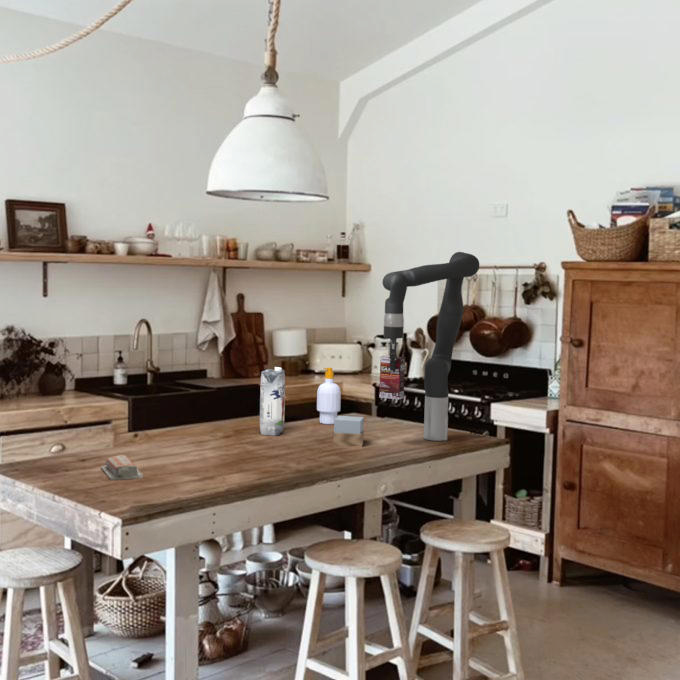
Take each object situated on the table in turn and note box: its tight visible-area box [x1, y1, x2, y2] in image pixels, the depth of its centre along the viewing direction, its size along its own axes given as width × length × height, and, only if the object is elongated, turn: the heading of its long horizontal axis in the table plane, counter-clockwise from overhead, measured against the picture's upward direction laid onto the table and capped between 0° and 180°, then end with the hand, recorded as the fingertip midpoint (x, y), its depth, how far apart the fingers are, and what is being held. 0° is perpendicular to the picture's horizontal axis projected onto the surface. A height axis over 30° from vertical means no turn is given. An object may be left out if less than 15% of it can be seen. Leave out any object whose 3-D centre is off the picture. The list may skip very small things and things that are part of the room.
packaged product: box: [100, 454, 144, 481], centre depth 279 cm, size 18×5×10 cm
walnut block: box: [332, 430, 365, 447], centre depth 338 cm, size 11×11×5 cm
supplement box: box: [378, 355, 406, 401], centre depth 335 cm, size 9×5×16 cm, turn 62°
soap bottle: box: [316, 367, 342, 425], centre depth 381 cm, size 10×10×24 cm
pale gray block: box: [333, 415, 365, 434], centre depth 337 cm, size 10×10×5 cm
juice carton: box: [259, 366, 286, 436], centre depth 353 cm, size 9×10×27 cm
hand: (392, 369), depth 335 cm, fingers closed on supplement box, 6 cm apart
